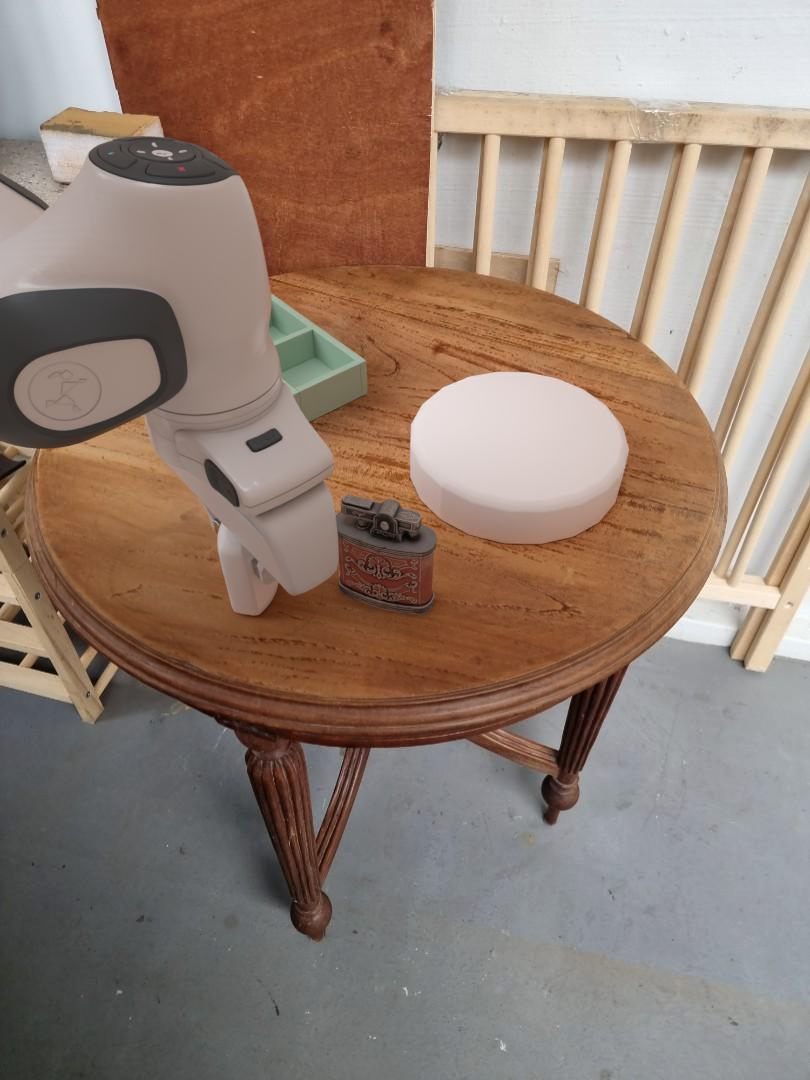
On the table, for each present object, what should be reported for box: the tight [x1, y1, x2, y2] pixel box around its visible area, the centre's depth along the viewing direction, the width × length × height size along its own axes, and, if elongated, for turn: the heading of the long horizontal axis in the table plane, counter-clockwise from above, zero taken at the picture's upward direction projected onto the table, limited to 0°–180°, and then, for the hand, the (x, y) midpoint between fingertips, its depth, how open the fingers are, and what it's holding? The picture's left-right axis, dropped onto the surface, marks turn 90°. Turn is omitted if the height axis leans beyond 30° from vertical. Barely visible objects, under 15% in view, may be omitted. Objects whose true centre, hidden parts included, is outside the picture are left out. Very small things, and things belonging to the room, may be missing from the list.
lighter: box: [336, 494, 438, 615], centre depth 60 cm, size 8×3×10 cm, turn 71°
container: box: [409, 371, 630, 545], centre depth 72 cm, size 20×20×5 cm
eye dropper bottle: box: [216, 523, 279, 617], centre depth 59 cm, size 4×6×12 cm
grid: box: [269, 293, 368, 423], centre depth 81 cm, size 17×17×4 cm
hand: (248, 553), depth 60 cm, fingers closed on eye dropper bottle, 4 cm apart
